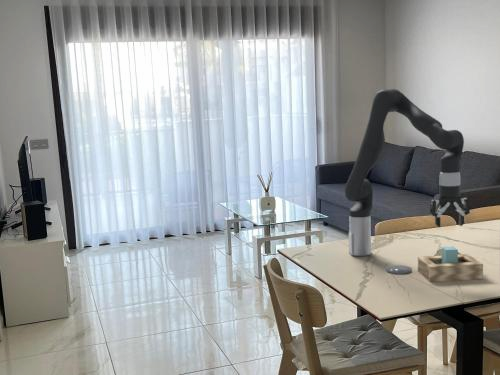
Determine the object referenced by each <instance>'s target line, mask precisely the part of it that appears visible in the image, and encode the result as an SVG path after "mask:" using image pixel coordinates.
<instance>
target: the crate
mask: <svg viewBox="0 0 500 375" xmlns="http://www.w3.org/2000/svg"><path fill="white" fill-rule="evenodd" d="M417 272H418V273H419V274H420V275H421V276H423V277H424V278H425V279H426V280H427V281H428V282H430V283H434V282H435V283H436V282H453V281H455V282H456V281H470V280H471V281H472V280H483V279H484V263H482V262H481V261H479V260H478V259H476V258H475V257H473V256H472V255H470V254H469V253H465V254H464V253H463V254H462V253H460V255H458V263H447V264H442V256H434V255H428V256H427V255H425V256H417Z"/></svg>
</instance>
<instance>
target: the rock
mask: <svg viewBox="0 0 500 375" xmlns="http://www.w3.org/2000/svg"><path fill="white" fill-rule="evenodd" d="M460 254H461V253H460V252H459V251H458V255H460ZM433 256H442V248H439V249H437V251H436V252H435V254H434V255H433Z"/></svg>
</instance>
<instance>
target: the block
mask: <svg viewBox="0 0 500 375" xmlns="http://www.w3.org/2000/svg"><path fill="white" fill-rule="evenodd" d="M441 249H442V264H447V263H458V252H459V250H458V248H456V247H455V246H442V247H441Z"/></svg>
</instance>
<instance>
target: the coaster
mask: <svg viewBox="0 0 500 375" xmlns="http://www.w3.org/2000/svg"><path fill="white" fill-rule="evenodd" d="M412 269H413V268H412V267H410V266H408V265H404V264H403V265H402V264H392V265H388V266H386V267H385V271H386V272H387V273H389V274H392V275H407V274H410V273H412V271H413V270H412Z"/></svg>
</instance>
